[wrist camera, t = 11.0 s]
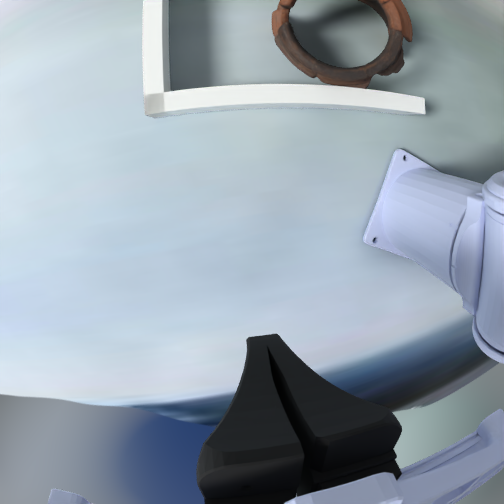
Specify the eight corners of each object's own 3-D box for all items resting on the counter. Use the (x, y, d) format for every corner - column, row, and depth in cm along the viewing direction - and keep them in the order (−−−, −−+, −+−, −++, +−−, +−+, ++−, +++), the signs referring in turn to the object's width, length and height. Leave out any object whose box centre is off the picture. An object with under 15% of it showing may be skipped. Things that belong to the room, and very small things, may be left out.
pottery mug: (404, 87, 20) (424, 101, 13) (292, 81, 23) (264, 93, 16) (392, -42, 12) (404, -78, 6) (277, -42, 15) (242, -74, 9)
